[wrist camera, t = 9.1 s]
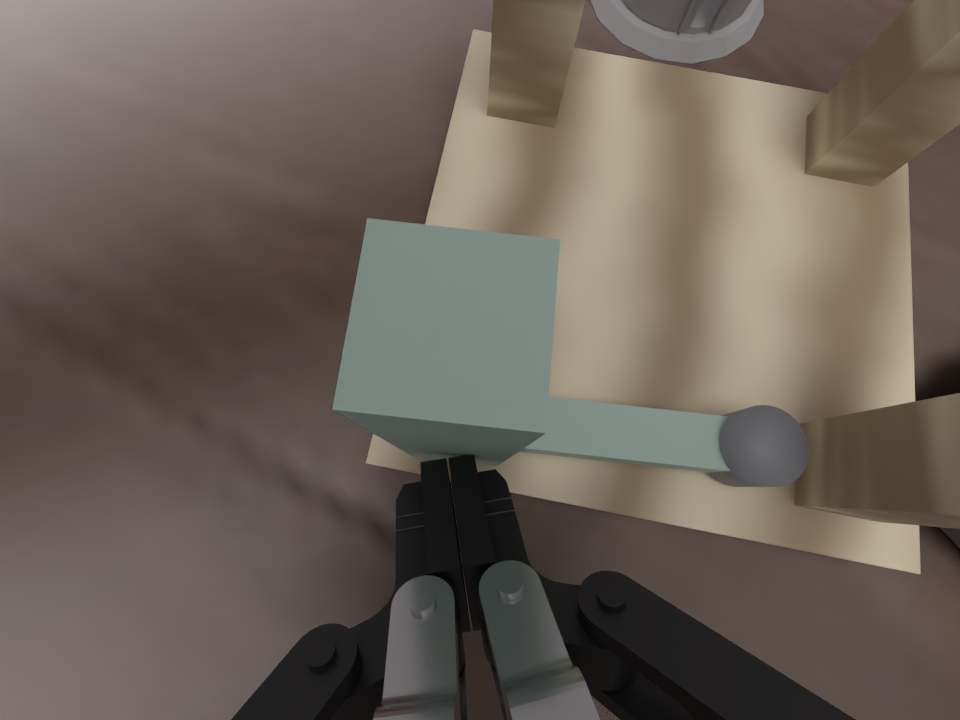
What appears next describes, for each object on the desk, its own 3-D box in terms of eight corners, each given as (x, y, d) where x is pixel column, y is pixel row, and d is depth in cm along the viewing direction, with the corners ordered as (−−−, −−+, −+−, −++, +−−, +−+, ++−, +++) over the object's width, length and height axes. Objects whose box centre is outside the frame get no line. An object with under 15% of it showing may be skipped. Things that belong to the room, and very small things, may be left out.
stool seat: (377, 466, 20) (217, 426, 7) (472, 73, 25) (480, -370, 12) (865, 563, 20) (1634, 710, 7) (863, 144, 25) (1303, -236, 12)
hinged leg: (766, 413, 18) (1189, 308, 8) (770, 496, 18) (1243, 510, 7) (424, 375, 18) (367, 217, 8) (413, 457, 18) (332, 409, 7)
